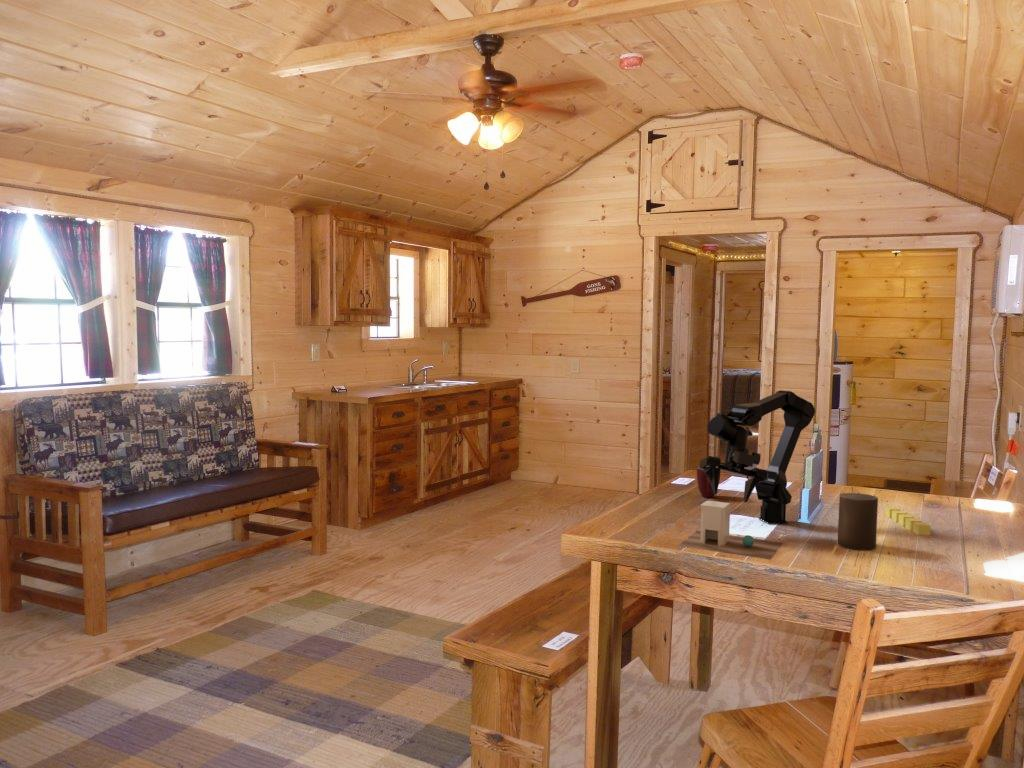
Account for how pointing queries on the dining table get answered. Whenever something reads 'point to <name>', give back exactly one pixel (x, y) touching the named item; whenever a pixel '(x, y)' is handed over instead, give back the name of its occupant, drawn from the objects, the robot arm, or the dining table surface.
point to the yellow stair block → (908, 521)
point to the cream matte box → (715, 521)
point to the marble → (748, 541)
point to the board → (734, 546)
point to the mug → (705, 483)
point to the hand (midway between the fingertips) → (730, 498)
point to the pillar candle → (857, 521)
